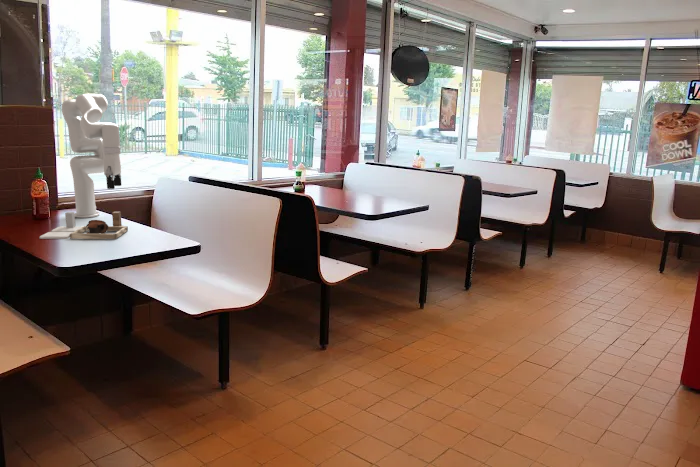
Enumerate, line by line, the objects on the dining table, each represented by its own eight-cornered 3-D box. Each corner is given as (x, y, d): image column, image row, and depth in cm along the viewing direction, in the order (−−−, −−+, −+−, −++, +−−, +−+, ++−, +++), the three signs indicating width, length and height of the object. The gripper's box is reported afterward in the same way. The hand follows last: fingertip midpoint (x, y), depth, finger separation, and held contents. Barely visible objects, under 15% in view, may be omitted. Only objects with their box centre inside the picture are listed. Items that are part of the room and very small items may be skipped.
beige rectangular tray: (89, 227, 286) (88, 211, 284) (131, 227, 287) (130, 211, 285) (69, 238, 263) (68, 220, 261) (116, 238, 264) (114, 221, 263)
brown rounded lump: (80, 238, 268) (81, 220, 271) (96, 243, 277) (97, 226, 279) (100, 233, 264) (101, 216, 266) (116, 239, 272) (117, 222, 275)
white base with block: (59, 228, 284) (58, 212, 282) (85, 228, 285) (83, 212, 283) (39, 238, 263) (37, 221, 262) (67, 238, 264) (65, 221, 262)
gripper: (109, 149, 284) (112, 184, 288) (96, 152, 268) (99, 190, 271) (125, 149, 285) (128, 184, 289) (113, 152, 268) (116, 190, 272)
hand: (114, 187), depth 280 cm, fingers open, 9 cm apart
